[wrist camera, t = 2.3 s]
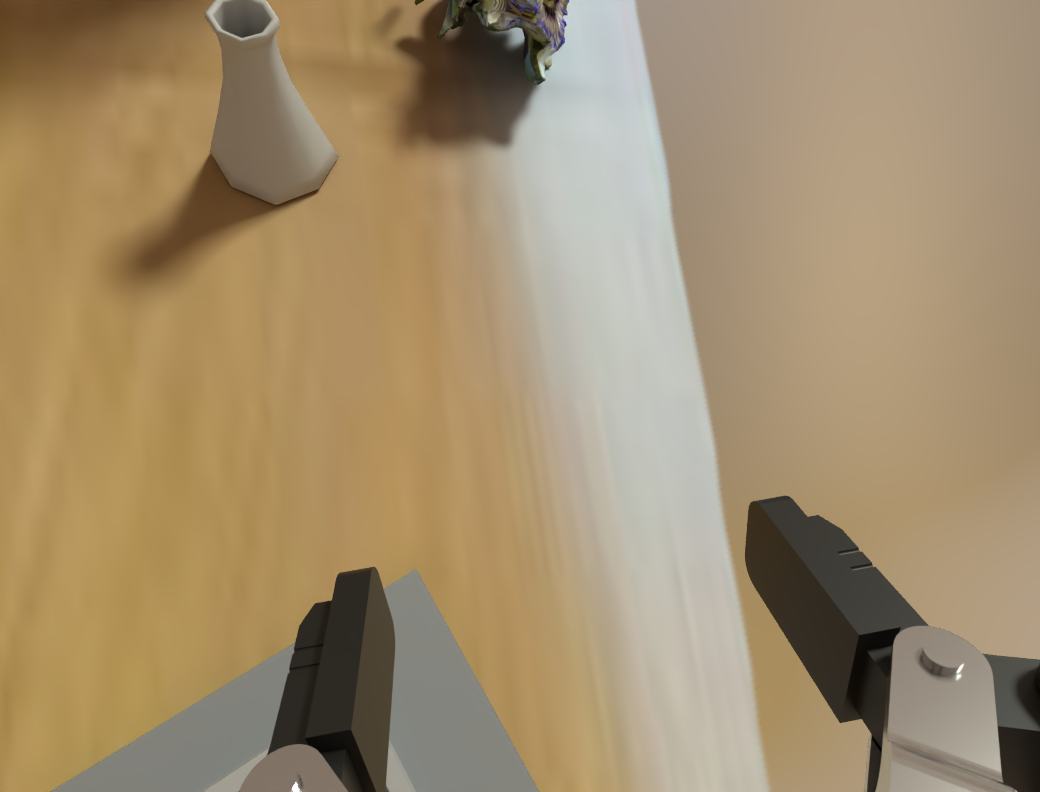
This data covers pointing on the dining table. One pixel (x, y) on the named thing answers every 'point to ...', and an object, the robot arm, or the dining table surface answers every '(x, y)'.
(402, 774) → the board
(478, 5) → the passion flower
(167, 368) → the dining table surface
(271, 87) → the flask
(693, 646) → the dining table surface
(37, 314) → the dining table surface
